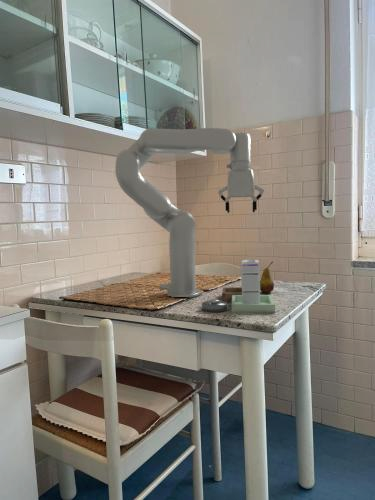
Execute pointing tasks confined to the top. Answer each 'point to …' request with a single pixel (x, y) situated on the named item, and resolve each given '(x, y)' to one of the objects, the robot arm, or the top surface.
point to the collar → (230, 293)
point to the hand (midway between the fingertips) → (241, 212)
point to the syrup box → (250, 281)
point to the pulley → (214, 306)
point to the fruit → (266, 281)
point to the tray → (253, 305)
